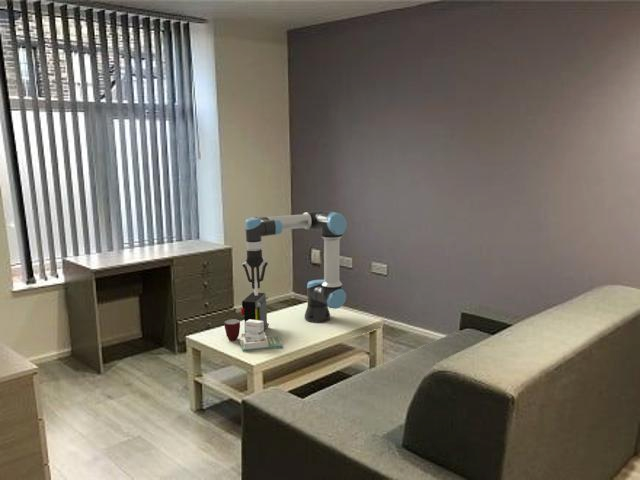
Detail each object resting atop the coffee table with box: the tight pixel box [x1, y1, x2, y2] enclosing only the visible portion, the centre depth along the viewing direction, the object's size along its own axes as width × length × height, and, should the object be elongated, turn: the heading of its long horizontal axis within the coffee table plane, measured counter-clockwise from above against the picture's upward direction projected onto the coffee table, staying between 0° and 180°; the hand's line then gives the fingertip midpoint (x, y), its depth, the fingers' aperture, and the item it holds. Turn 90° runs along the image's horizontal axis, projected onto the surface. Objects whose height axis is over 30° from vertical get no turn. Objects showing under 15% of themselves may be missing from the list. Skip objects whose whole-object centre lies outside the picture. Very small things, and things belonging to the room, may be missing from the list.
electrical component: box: [240, 291, 270, 331], centre depth 290 cm, size 18×10×20 cm, turn 168°
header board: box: [239, 331, 283, 353], centre depth 274 cm, size 20×14×4 cm
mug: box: [224, 318, 241, 342], centre depth 281 cm, size 11×8×10 cm
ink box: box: [244, 319, 265, 343], centre depth 272 cm, size 9×5×12 cm, turn 71°
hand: (256, 294), depth 270 cm, fingers closed
